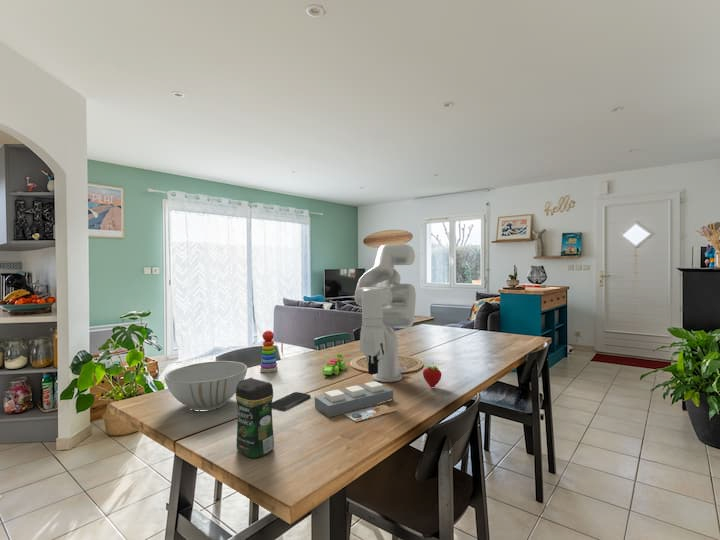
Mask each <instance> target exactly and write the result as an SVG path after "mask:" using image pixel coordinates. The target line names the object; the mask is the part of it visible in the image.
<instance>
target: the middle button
mask: <svg viewBox="0 0 720 540" xmlns="http://www.w3.org/2000/svg"><path fill="white" fill-rule="evenodd" d="M344 390H345V394H347V395H349V396H350V397H356V396H360V395H365V389H364V388H362V387H361V386H360V385H352V386H348V387H344Z"/></svg>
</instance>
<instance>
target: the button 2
mask: <svg viewBox="0 0 720 540" xmlns="http://www.w3.org/2000/svg"><path fill="white" fill-rule="evenodd" d="M363 386H364V389H365V390H367V391H369V392H371V393H373V392H377V391H381V390H383V386H384V384H383V383H380V382H379V381H376V380H374V381H369V382H366V383H365V382H364V383H363Z"/></svg>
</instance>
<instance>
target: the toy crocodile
mask: <svg viewBox="0 0 720 540" xmlns="http://www.w3.org/2000/svg"><path fill="white" fill-rule="evenodd" d="M344 370H346V362H345V361H344V358H343V355H342V354H337V356H336V358H334V359H331V360H330V361H328V362H327V363H326V364H325V365H323V367H322V373H323V375H332V374H334V375H338V374H339V371H344Z"/></svg>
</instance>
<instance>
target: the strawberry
mask: <svg viewBox="0 0 720 540" xmlns="http://www.w3.org/2000/svg"><path fill="white" fill-rule="evenodd" d="M432 364H433V365H432V366H431V365H427V367H425V368H424V369H423V371H422V375H423V379H424V381H426V384H428V385H429V388H431V387H434V388H435V386H437V384H438V383H439V382H440V381H441V378H442V376H443V375H442V372H441V371H440V368H439V367H437V366H438V365H434V362H432Z"/></svg>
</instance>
